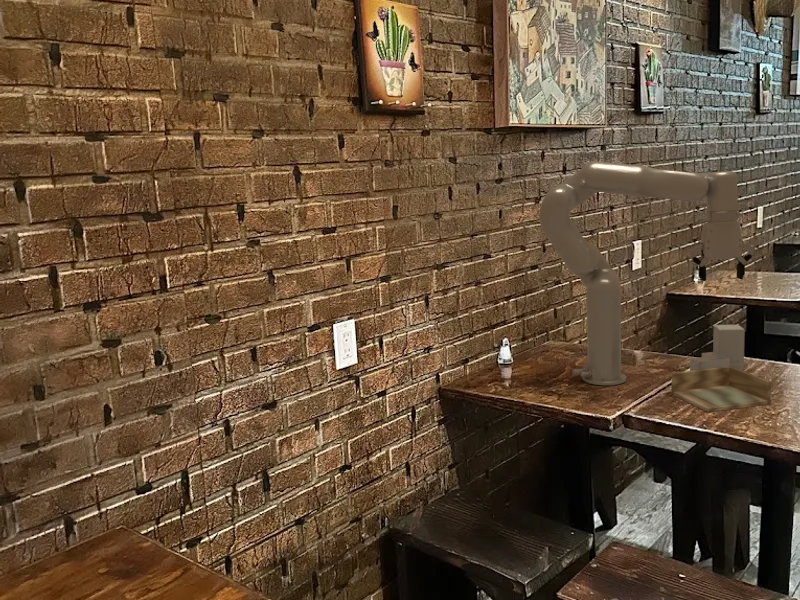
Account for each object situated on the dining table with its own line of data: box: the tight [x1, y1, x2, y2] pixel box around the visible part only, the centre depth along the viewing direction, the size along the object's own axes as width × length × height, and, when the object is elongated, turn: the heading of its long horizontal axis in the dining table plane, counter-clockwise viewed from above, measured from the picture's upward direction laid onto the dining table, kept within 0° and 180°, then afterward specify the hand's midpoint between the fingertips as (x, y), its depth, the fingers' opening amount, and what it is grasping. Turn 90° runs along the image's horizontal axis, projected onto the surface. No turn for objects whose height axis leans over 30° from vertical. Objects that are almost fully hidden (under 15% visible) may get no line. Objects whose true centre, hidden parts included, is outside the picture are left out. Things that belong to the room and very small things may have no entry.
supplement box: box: [712, 324, 746, 371], centre depth 216 cm, size 7×7×13 cm
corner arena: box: [671, 366, 772, 413], centre depth 189 cm, size 18×16×6 cm
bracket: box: [689, 351, 730, 371], centre depth 209 cm, size 10×8×6 cm
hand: (721, 279), depth 197 cm, fingers open, 9 cm apart
